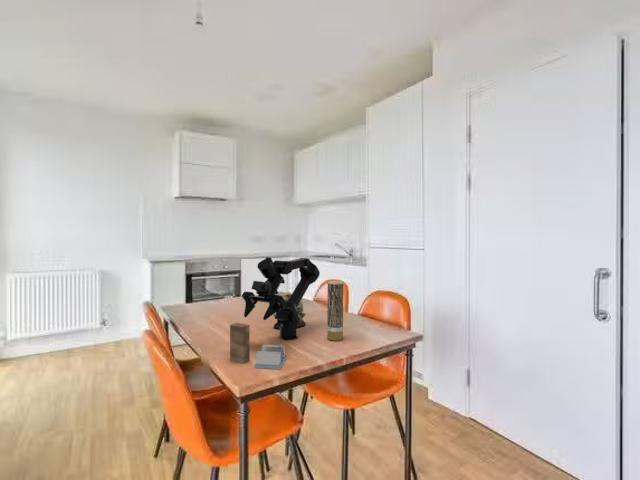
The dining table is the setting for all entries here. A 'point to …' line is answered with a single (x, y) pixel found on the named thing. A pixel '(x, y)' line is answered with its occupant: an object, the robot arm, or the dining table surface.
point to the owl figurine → (299, 312)
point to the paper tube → (335, 311)
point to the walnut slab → (239, 342)
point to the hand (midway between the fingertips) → (254, 318)
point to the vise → (271, 357)
